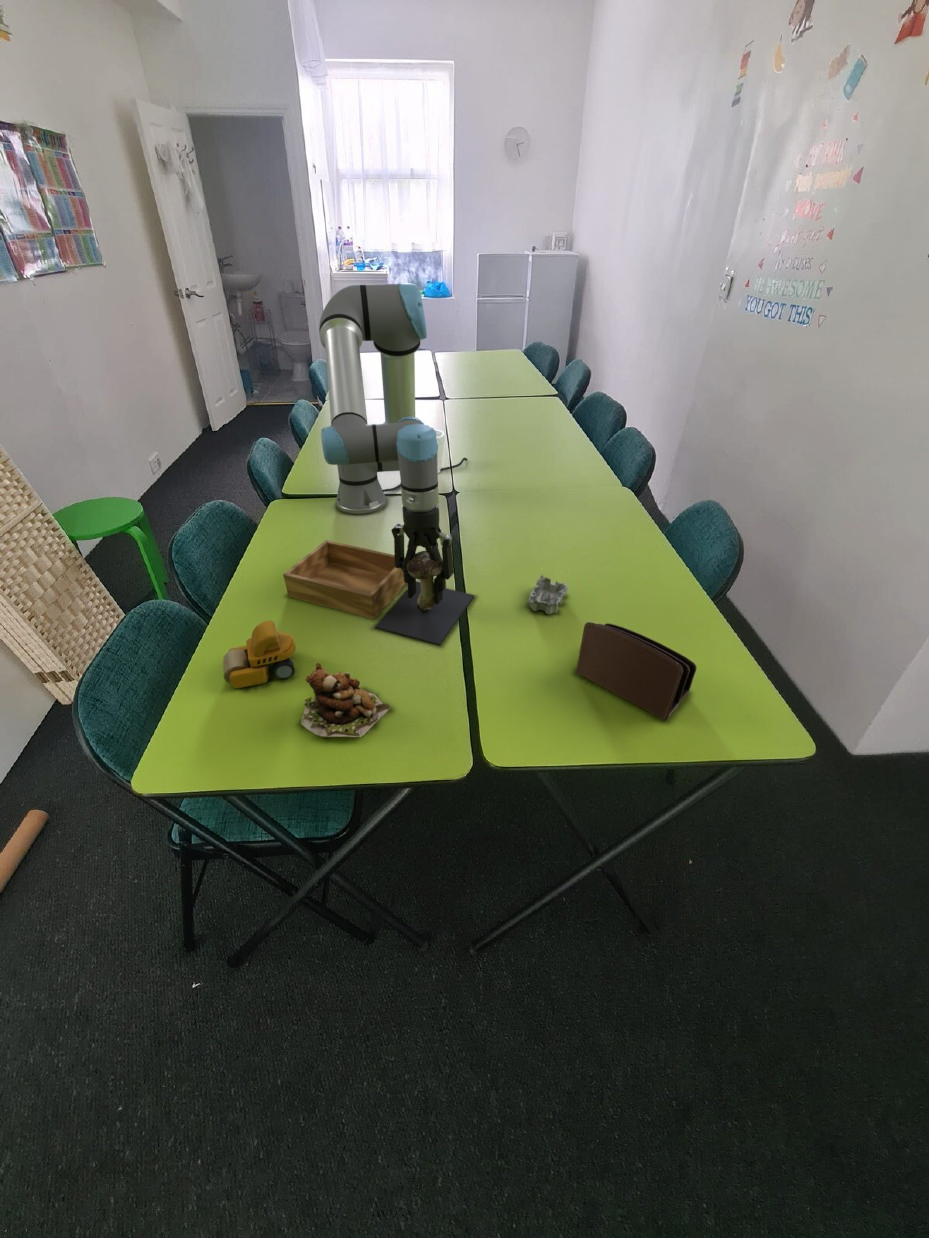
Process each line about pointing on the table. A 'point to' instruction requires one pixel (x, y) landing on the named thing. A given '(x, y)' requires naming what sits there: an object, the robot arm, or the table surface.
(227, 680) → the toy roller
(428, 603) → the mushroom
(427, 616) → the mat
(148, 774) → the table surface
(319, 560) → the crate
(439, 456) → the foam cup
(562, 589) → the egg carton
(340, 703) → the bear figurine
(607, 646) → the letter holder
